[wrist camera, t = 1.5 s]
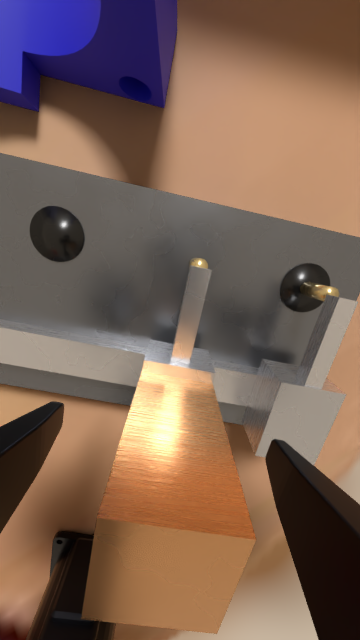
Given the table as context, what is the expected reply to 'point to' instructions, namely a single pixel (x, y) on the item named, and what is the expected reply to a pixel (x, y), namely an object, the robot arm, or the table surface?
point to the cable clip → (87, 47)
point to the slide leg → (171, 494)
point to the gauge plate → (171, 297)
